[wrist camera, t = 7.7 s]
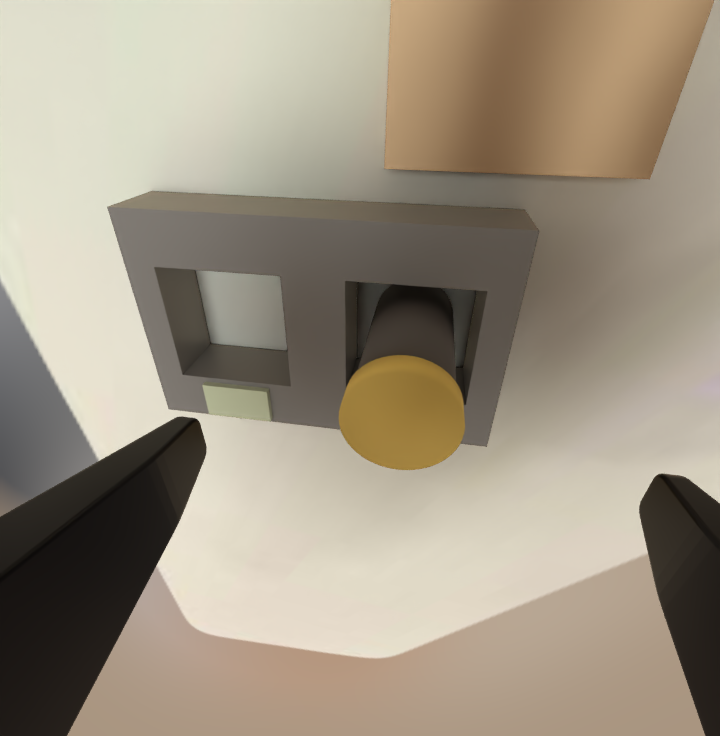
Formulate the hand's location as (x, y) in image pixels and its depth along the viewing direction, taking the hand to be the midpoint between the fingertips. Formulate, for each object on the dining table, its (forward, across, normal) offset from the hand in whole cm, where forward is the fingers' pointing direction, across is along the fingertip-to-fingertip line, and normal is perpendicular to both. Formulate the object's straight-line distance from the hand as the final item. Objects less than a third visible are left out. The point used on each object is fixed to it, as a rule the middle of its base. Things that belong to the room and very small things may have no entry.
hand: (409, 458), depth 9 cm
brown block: (+12, -3, -8) cm, 15 cm away
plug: (+12, 0, +3) cm, 12 cm away
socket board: (+12, +4, +3) cm, 13 cm away
